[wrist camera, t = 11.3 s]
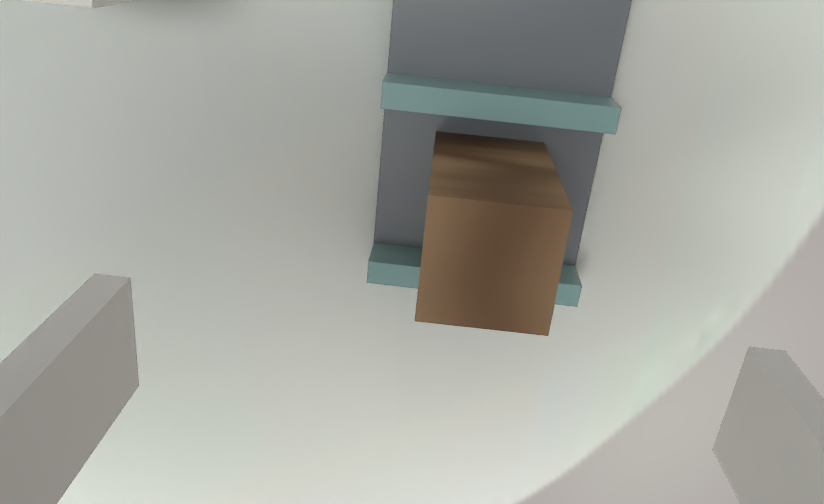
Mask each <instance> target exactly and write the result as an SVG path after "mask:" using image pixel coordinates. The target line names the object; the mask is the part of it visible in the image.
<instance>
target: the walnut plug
mask: <svg viewBox="0 0 824 504" xmlns="http://www.w3.org/2000/svg"><path fill="white" fill-rule="evenodd" d="M572 214H573V209H572V207H571V205H570V202H569V200H568V197H567V195H566V193H565V190H564V188H563V186H562V183H561V181H560V179H559V176H558V174H557V171H556V169H555V167H554V164H553V162H552V160H551V157H550V155H549V153H548V150H547V148H546V145H545V143H544V142H536V141H526V140H517V139H507V138H498V137H488V136H479V135H469V134H460V133H450V132H441V131H436V134H435V143H434V151H433V159H432V167H431V176H430V184H429V192H428V201H427V211H426V220H425V229H424V239H423V248H422V257H421V267H420V276H419V285H418V295H417V304H416V313H415V321H418V322H427V323H436V324H445V325H455V326H464V327H473V328H482V329H491V330H500V331H509V332H518V333H527V334H536V335H545V336H548V334H549V329H550V324H551V319H552V314H553V309H554V304H555V299H556V294H557V289H558V284H559V279H560V274H561V269H562V264H563V259H564V254H565V249H566V244H567V239H568V234H569V229H570V224H571V219H572Z"/></svg>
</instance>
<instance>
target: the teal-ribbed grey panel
mask: <svg viewBox="0 0 824 504" xmlns="http://www.w3.org/2000/svg"><path fill="white" fill-rule="evenodd" d="M631 1H632V0H393V11H392V23H391V35H390V48H389V60H388V73H387V75H386V76H385V78H384V80H383V82H382V95H381V108H383V109H385V110H384V122H383V134H382V147H381V159H380V172H379V184H378V196H377V209H376V221H375V233H374V244H373V247H372V251H371V254H370V258H369V261H368V274H367V283H375V284H383V285H392V286H401V287H409V288H418V285H419V276H420V267H421V257H422V248H423V239H424V229H425V220H426V211H427V201H428V192H429V184H430V176H431V167H432V159H433V151H434V143H435V134H436V131H441V132H450V133H460V134H469V135H479V136H488V137H498V138H507V139H517V140H526V141H536V142H544V143H545V145H546V148H547V150H548V153H549V155H550V157H551V160H552V162H553V164H554V167H555V169H556V171H557V174H558V176H559V179H560V181H561V183H562V186H563V188H564V190H565V193H566V195H567V197H568V200H569V202H570V205H571V207H572V209H573V214H572V219H571V224H570V229H569V234H568V239H567V244H566V249H565V254H564V259H563V264H562V269H561V274H560V279H559V284H558V289H557V294H556V299H555V304H558V305H566V306H575V307H577V306H578V301H579V297H580V292H581V288H582V285H581V282H580V279H579V276H578V273H577V271H576V268H575V262H576V257H577V253H578V248H579V243H580V239H581V234H582V229H583V225H584V220H585V215H586V211H587V206H588V201H589V197H590V192H591V187H592V183H593V178H594V173H595V169H596V164H597V159H598V155H599V150H600V145H601V141H602V136H603V133H609V134H616V130H617V126H618V121H619V117H620V112H621V107H620V106H619V105H618V104H617V103H616V102H615V101H614V100H613V99H612V98H611V94H612V89H613V85H614V80H615V75H616V71H617V66H618V61H619V57H620V52H621V47H622V43H623V38H624V33H625V29H626V24H627V19H628V15H629V10H630V5H631Z"/></svg>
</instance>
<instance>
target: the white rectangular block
mask: <svg viewBox="0 0 824 504" xmlns="http://www.w3.org/2000/svg"><path fill="white" fill-rule="evenodd" d="M23 1H32V2H41V3H50V4H59V5H69V6H78V7H87V8H96V7H101V6H107V5H112V4H118V3H123V2H128V1H134V0H23Z"/></svg>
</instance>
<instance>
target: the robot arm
mask: <svg viewBox="0 0 824 504" xmlns="http://www.w3.org/2000/svg"><path fill="white" fill-rule="evenodd" d="M138 386H139V379H138V367H137V354H136V341H135V329H134V316H133V303H132V291H131V278H128V277H119V276H110V275H101V274H94V275H93V276H92V277H91V278H90V279H89V280H88V281H86V282H85V283H84V284H83V285H82V286H81V287H80V288H79V289H78V290H77V291H76V292H75V293H74V294H73V295H72V296H71V297H70V298H69V299H68V300H66V301H65V302H64V303H63V304H62V305H61V306H60V307H59V308H58V309H57V310H56V311H55V312H54V313H53V314H52V315H51V316H50V317H49V318H48V319H47V320H45V321H44V322H43V323H42V324H41V325H40V326H39V327H38V328H37V329H36V330H35V331H34V332H33V333H32V334H31V335H30V336H29V337H28V338H27V339H25V340H24V341H23V342H22V343H21V344H20V345H19V346H18V347H17V348H16V349H15V350H14V351H13V352H12V353H11V354H10V355H9V356H8V357H7V358H5V359H4V360H3V361H2V362H1V363H0V504H57V503H58V501H59V500H60V499H61V497H62V496H63V494H64V493H65V491H66V490H67V488H68V487H69V486H70V484H71V483H72V481H73V480H74V478H75V477H76V475H77V474H78V473H79V471H80V470H81V468H82V467H83V465H84V464H85V462H86V461H87V460H88V458H89V457H90V455H91V454H92V452H93V451H94V449H95V448H96V447H97V445H98V444H99V442H100V441H101V439H102V438H103V436H104V435H105V434H106V432H107V431H108V429H109V428H110V426H111V425H112V423H113V422H114V421H115V419H116V418H117V416H118V415H119V413H120V412H121V410H122V409H123V408H124V406H125V405H126V403H127V402H128V400H129V399H130V397H131V396H132V395H133V393H134V392H135V390H136V389H137V387H138ZM713 451H714V454H715V455H716V457H717V459H718V461H719V463H720V465H721V467H722V469H723V471H724V473H725V475H726V477H727V479H728V481H729V483H730V485H731V487H732V489H733V491H734V493H735V495H736V497H737V499H738V501H739V503H740V504H824V398H823V397H822V396H821V395H820V394H819V392H818V391H817V390H816V388H815V387H814V386H813V385H812V384H811V382H810V381H809V380H808V379H807V377H806V376H805V375H804V374H803V372H802V371H801V370H800V369H799V367H798V366H797V365H796V364H795V362H794V361H793V360H792V359H791V357H790V356H789V355H788V354H787V352H786V351H783V350H774V349H765V348H756V347H749V348H748V351H747V353H746V356H745V359H744V362H743V365H742V367H741V370H740V373H739V376H738V379H737V382H736V385H735V387H734V390H733V393H732V396H731V399H730V401H729V404H728V407H727V410H726V413H725V416H724V418H723V421H722V424H721V427H720V430H719V433H718V435H717V438H716V441H715V444H714V447H713Z"/></svg>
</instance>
